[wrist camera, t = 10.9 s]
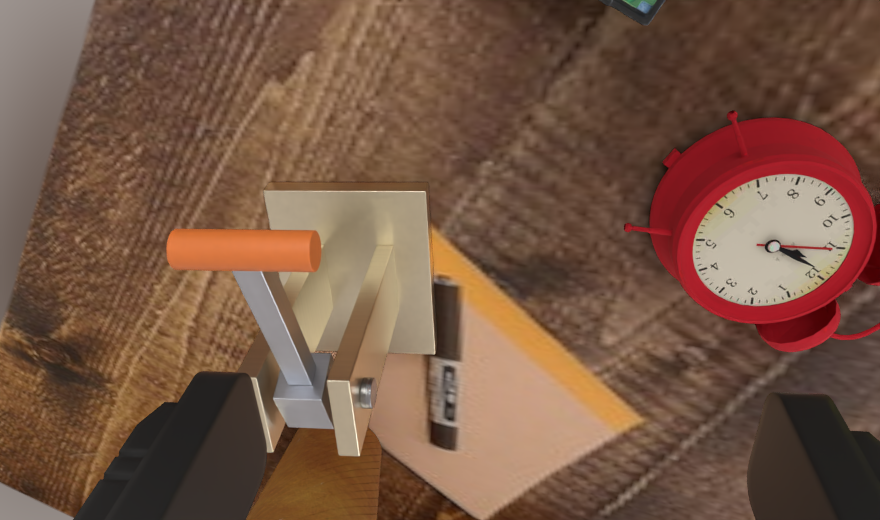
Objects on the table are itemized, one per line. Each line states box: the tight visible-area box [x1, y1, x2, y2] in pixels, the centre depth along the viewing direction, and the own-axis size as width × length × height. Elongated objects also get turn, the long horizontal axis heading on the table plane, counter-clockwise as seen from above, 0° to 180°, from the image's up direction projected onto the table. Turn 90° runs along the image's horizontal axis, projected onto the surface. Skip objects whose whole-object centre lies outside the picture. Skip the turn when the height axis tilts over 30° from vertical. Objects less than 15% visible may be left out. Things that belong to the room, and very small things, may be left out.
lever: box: [166, 229, 334, 429], centre depth 28 cm, size 12×5×2 cm, turn 4°
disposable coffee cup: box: [246, 427, 382, 520], centre depth 44 cm, size 10×10×12 cm
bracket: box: [237, 182, 437, 456], centre depth 35 cm, size 11×9×13 cm
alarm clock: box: [624, 111, 880, 352], centre depth 35 cm, size 10×6×15 cm
